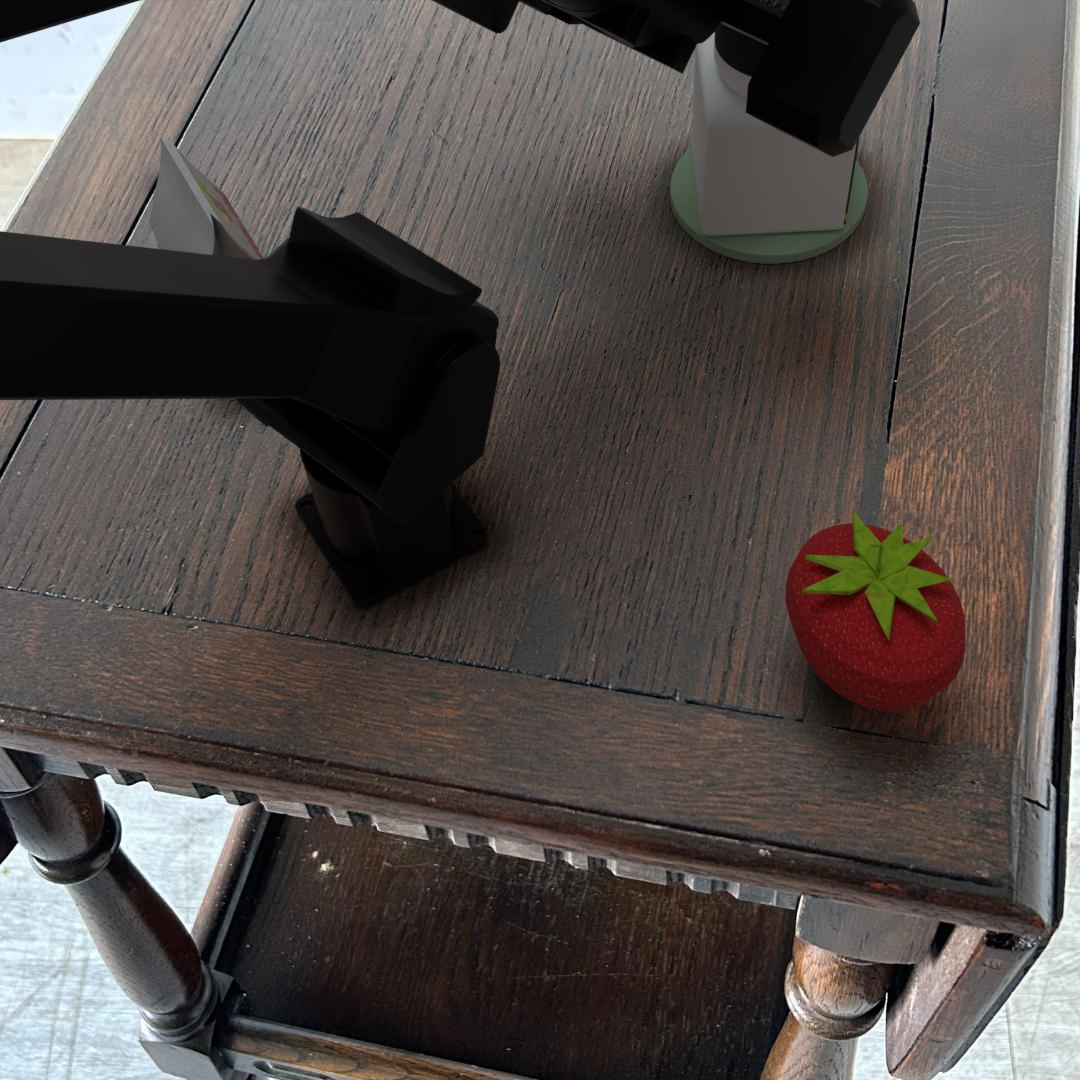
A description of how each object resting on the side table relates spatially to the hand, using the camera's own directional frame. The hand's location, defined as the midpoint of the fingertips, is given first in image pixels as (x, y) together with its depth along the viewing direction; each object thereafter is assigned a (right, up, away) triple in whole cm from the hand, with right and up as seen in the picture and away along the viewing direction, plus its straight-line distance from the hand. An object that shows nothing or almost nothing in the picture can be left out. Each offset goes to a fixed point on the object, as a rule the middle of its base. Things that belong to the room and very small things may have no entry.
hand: (759, 45), depth 63 cm
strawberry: (+3, -28, -7) cm, 29 cm away
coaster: (+2, -5, +9) cm, 10 cm away
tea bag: (-24, -13, +5) cm, 28 cm away
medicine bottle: (+2, -4, +9) cm, 10 cm away
